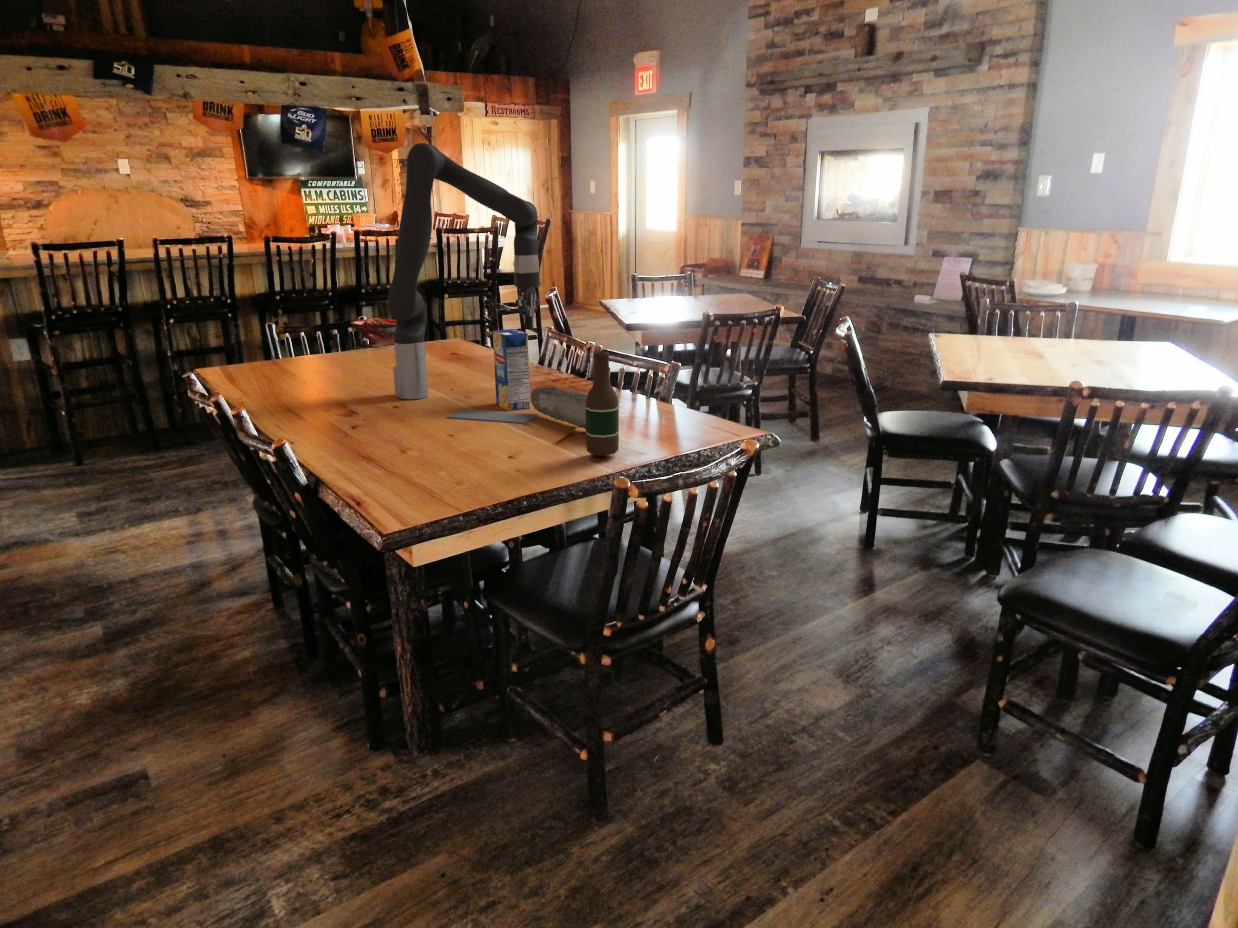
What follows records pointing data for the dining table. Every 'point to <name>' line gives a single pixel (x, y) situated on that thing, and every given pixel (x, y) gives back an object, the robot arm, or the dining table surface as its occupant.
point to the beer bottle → (602, 410)
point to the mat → (493, 416)
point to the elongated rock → (561, 404)
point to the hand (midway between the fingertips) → (529, 328)
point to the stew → (376, 331)
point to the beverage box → (511, 369)
